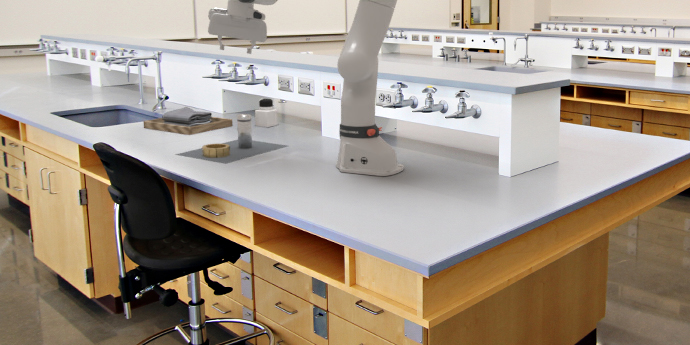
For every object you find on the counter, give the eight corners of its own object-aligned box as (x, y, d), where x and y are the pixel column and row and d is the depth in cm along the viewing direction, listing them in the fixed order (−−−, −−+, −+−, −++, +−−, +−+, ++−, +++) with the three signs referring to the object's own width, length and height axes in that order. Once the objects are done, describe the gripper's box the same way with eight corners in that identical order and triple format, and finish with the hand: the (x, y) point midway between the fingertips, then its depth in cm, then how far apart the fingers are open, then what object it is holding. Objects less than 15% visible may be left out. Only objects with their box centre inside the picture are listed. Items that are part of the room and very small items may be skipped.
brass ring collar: (235, 153, 217) (234, 145, 217) (216, 158, 210) (216, 150, 209) (216, 150, 222) (215, 142, 222) (197, 155, 215) (196, 146, 214)
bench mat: (289, 147, 231) (289, 145, 231) (225, 165, 203) (225, 163, 203) (241, 140, 244) (241, 138, 244) (175, 156, 216) (175, 154, 216)
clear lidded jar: (255, 146, 229) (254, 114, 226) (245, 149, 225) (244, 116, 222) (244, 145, 232) (243, 113, 229) (235, 147, 228) (234, 115, 225)
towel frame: (232, 125, 274) (232, 119, 274) (189, 134, 254) (189, 127, 253) (187, 119, 289) (187, 113, 289) (143, 127, 269) (143, 121, 268)
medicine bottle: (277, 125, 277) (277, 98, 274) (267, 127, 271) (266, 100, 268) (265, 123, 281) (264, 97, 278) (255, 126, 275) (254, 99, 272)
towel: (161, 129, 267) (159, 111, 265) (186, 123, 283) (185, 106, 281) (190, 132, 261) (189, 113, 259) (214, 125, 277) (214, 108, 276)
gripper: (209, 6, 207) (205, 47, 210) (269, 16, 212) (264, 56, 215) (209, 6, 213) (205, 46, 216) (267, 15, 218) (263, 55, 221)
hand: (235, 51), depth 216 cm, fingers open, 8 cm apart
